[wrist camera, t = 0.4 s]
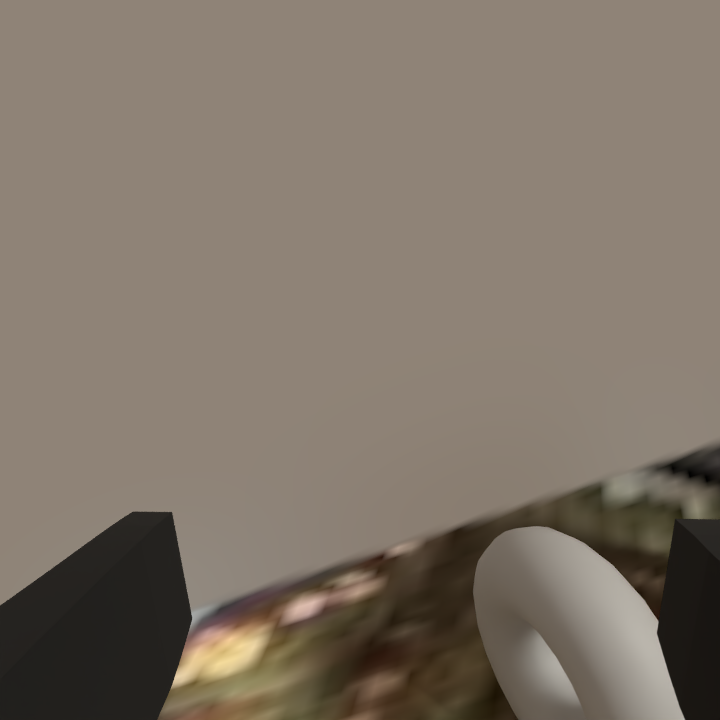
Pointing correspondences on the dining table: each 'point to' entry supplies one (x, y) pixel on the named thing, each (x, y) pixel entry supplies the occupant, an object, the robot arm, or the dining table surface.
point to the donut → (568, 632)
